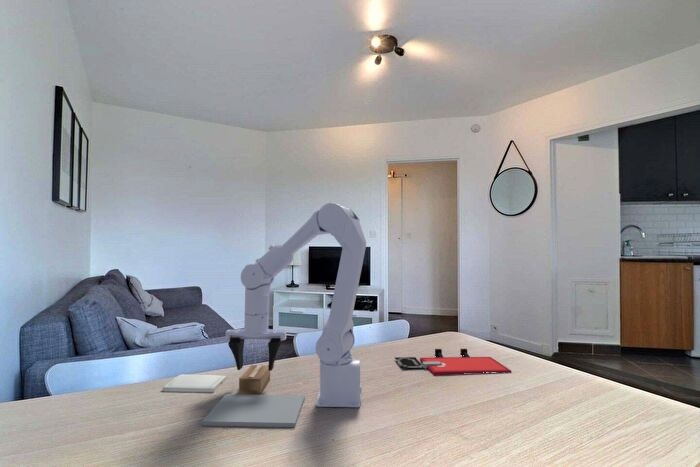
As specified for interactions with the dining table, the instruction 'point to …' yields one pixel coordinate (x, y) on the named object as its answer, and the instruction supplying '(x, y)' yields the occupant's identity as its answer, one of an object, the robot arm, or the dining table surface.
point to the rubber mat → (256, 411)
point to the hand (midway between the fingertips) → (255, 368)
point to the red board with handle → (453, 364)
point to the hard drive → (195, 383)
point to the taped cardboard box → (254, 380)
